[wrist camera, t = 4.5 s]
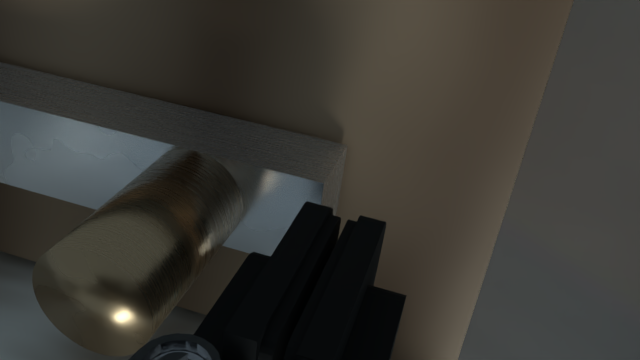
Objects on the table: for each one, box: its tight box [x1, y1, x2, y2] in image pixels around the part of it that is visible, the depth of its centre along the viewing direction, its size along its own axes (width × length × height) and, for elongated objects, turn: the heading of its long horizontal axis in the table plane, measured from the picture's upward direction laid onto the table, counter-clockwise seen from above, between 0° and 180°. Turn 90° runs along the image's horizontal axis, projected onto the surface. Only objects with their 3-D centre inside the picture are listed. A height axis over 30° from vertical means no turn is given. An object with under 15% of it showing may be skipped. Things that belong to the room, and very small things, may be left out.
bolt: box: [0, 62, 347, 357], centre depth 14 cm, size 14×2×6 cm, turn 83°
